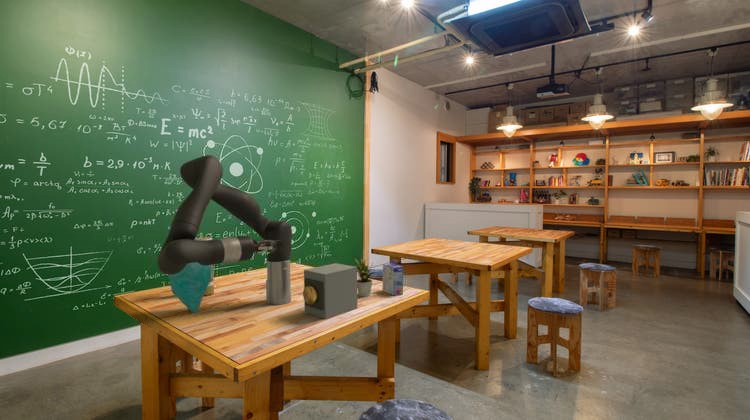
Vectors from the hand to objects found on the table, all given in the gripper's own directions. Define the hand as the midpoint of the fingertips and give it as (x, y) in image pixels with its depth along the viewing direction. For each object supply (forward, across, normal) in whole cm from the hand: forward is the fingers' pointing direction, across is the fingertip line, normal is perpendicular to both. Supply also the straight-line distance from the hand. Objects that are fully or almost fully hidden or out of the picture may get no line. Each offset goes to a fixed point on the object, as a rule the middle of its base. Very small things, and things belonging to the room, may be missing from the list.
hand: (282, 243), depth 123 cm
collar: (+13, 0, +25) cm, 28 cm away
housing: (+21, 0, +28) cm, 35 cm away
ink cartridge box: (+55, -3, +28) cm, 62 cm away
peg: (+18, 0, +23) cm, 29 cm away
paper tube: (0, +59, +28) cm, 66 cm away
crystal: (-14, +39, +28) cm, 50 cm away
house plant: (+44, +6, +28) cm, 52 cm away
